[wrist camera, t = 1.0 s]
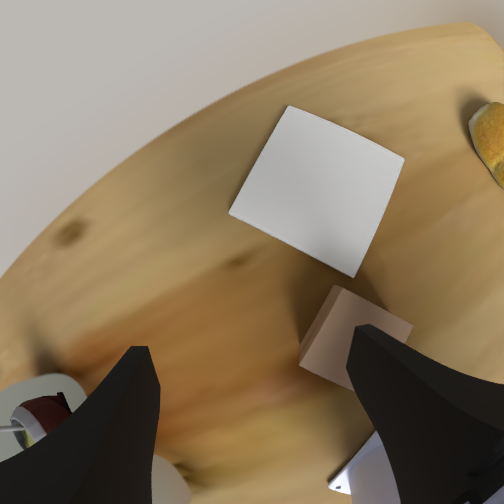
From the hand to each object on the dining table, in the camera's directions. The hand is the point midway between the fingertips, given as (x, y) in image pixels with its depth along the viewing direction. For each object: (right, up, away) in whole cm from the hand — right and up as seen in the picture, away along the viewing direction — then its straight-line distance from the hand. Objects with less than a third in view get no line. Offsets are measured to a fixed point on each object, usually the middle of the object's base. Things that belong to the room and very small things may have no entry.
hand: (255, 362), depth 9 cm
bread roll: (+24, +14, +9) cm, 29 cm away
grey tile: (+5, +9, +11) cm, 15 cm away
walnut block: (+7, -2, +10) cm, 12 cm away
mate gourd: (-21, -15, +14) cm, 30 cm away
